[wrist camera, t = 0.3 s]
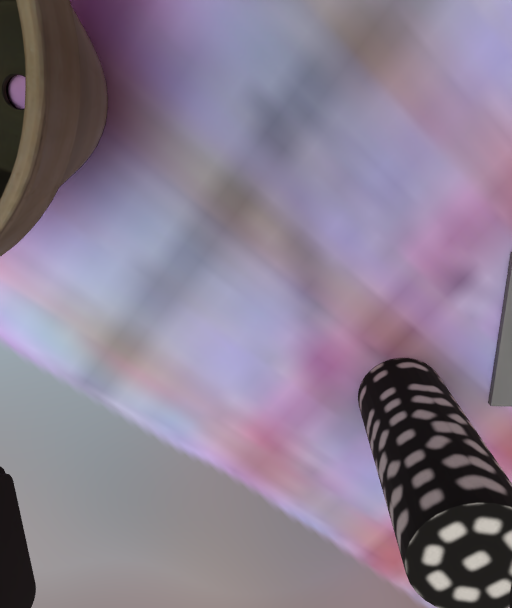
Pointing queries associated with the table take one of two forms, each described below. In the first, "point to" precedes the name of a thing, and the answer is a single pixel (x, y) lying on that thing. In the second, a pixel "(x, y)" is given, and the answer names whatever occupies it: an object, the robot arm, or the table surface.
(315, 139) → the table surface
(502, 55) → the table surface
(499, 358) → the mat
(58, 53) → the plant pot
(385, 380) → the polka dot cylinder
